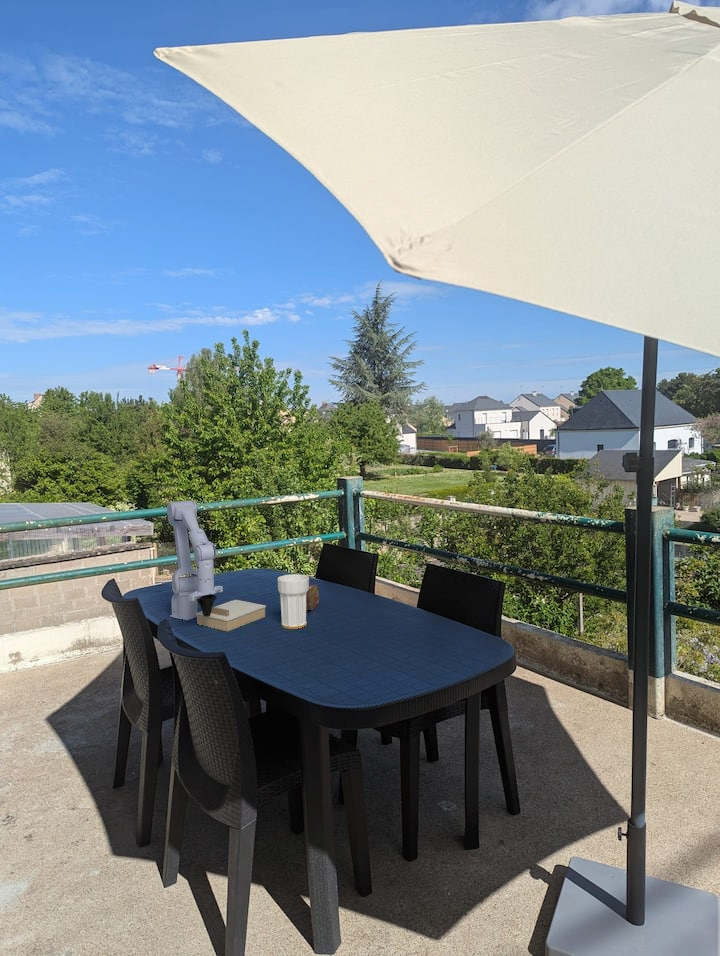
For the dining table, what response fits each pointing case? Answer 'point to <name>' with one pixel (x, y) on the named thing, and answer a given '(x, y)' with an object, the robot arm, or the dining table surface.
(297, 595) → the cup
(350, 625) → the dining table surface
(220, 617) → the mailer lid
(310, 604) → the tin
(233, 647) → the dining table surface
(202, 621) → the box
